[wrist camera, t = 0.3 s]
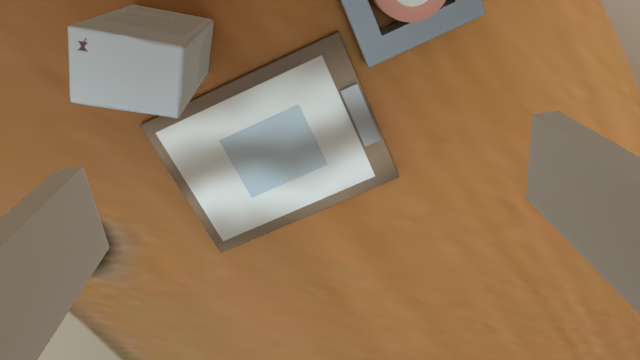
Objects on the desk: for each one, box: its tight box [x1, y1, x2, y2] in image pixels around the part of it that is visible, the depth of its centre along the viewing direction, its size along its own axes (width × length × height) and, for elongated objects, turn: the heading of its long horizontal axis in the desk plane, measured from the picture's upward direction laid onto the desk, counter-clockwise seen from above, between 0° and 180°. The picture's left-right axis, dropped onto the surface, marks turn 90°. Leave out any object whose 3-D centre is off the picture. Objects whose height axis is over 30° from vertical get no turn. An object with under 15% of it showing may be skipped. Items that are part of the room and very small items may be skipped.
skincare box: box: [67, 4, 214, 118], centre depth 32 cm, size 6×4×12 cm
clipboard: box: [140, 31, 399, 253], centre depth 40 cm, size 13×17×1 cm
